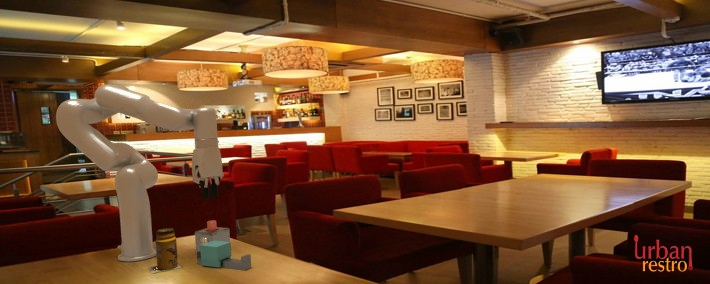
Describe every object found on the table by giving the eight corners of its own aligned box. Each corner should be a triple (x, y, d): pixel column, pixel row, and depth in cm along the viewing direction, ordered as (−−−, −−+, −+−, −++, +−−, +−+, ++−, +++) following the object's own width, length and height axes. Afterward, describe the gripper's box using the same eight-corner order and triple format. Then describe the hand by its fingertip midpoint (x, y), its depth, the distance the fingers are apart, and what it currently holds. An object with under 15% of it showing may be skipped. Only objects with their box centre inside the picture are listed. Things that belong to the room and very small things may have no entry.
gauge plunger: (206, 236, 164) (205, 222, 164) (212, 234, 167) (211, 220, 167) (212, 237, 163) (211, 222, 163) (218, 235, 166) (218, 220, 165)
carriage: (201, 265, 150) (200, 245, 150) (215, 260, 155) (214, 240, 155) (218, 267, 147) (216, 247, 147) (231, 262, 152) (230, 242, 152)
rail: (197, 264, 153) (196, 251, 153) (204, 261, 156) (203, 249, 155) (244, 270, 144) (243, 257, 144) (251, 267, 147) (250, 254, 146)
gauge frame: (195, 255, 163) (193, 232, 163) (213, 248, 171) (212, 226, 170) (213, 257, 159) (211, 233, 159) (230, 250, 167) (229, 228, 166)
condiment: (181, 267, 150) (178, 229, 149) (152, 273, 145) (149, 234, 145) (176, 262, 156) (173, 226, 156) (148, 268, 151) (145, 230, 151)
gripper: (215, 142, 172) (219, 193, 173) (179, 146, 158) (183, 201, 159) (231, 142, 169) (235, 194, 170) (196, 145, 154) (199, 202, 155)
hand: (210, 197), depth 164 cm, fingers open, 3 cm apart
